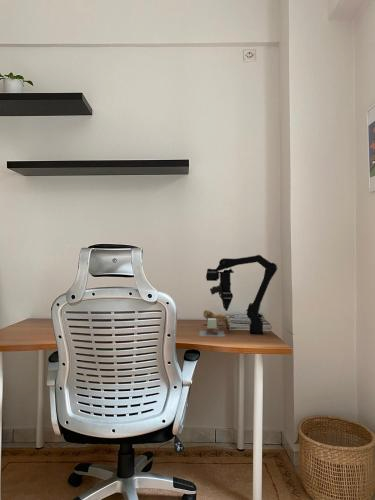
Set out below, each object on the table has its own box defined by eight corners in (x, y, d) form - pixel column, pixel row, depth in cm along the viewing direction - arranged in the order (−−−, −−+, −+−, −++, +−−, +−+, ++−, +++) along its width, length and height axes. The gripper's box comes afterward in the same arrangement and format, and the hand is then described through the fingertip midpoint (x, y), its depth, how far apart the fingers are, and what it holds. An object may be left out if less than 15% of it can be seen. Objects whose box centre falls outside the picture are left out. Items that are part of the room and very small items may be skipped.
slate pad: (223, 331, 208) (223, 330, 208) (225, 337, 194) (225, 336, 194) (199, 331, 208) (199, 330, 208) (199, 336, 194) (199, 336, 194)
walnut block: (217, 332, 204) (217, 326, 204) (217, 334, 198) (218, 328, 198) (206, 332, 204) (206, 326, 204) (206, 334, 198) (206, 328, 198)
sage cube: (216, 326, 203) (216, 318, 204) (216, 328, 199) (216, 319, 199) (207, 326, 204) (207, 318, 204) (207, 328, 199) (207, 319, 199)
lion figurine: (203, 325, 226) (203, 310, 226) (203, 324, 231) (203, 309, 231) (228, 326, 225) (228, 311, 225) (227, 324, 230) (227, 309, 230)
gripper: (209, 280, 220) (209, 307, 220) (211, 282, 201) (211, 311, 201) (229, 280, 220) (229, 307, 220) (232, 282, 201) (232, 311, 201)
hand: (225, 309), depth 210 cm, fingers open, 9 cm apart
